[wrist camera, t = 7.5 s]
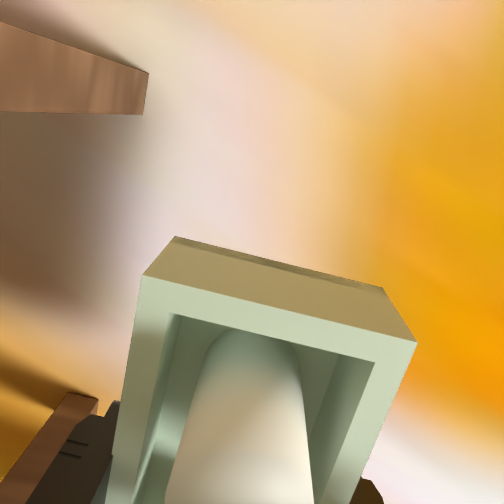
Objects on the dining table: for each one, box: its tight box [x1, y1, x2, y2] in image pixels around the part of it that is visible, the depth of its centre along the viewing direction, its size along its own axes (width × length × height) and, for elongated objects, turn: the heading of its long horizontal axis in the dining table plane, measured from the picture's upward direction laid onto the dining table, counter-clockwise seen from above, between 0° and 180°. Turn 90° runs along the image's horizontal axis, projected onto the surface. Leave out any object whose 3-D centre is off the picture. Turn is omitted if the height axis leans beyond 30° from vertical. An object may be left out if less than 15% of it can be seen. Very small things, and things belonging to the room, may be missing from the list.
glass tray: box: [105, 236, 418, 504], centre depth 11 cm, size 12×6×5 cm, turn 166°
